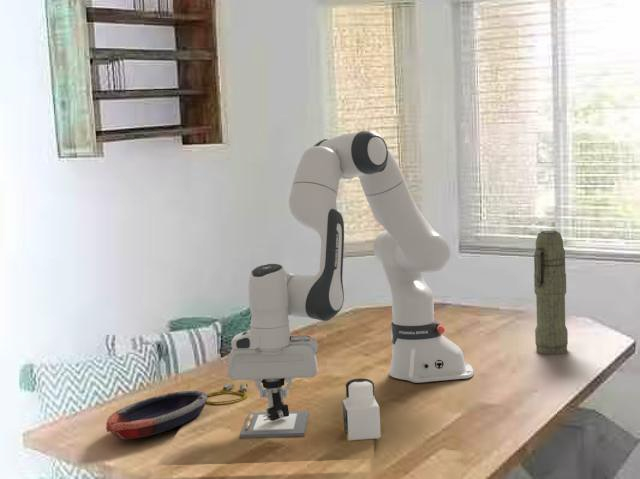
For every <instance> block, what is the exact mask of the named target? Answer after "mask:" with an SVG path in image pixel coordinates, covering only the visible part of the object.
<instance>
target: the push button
mask: <svg viewBox="0 0 640 479" xmlns="http://www.w3.org/2000/svg"><path fill="white" fill-rule="evenodd" d="M261 383H262V387H263V389H267V400H268V405H267V408H266V409H265V410H266V411H265V412H267V414H266V415H264V416H263V417H266V416H267V418H266V419H264V421H266V420H271V421H274V420H277V419H281V418H283V417H287V416H289V411H290V410H289V404H285V401H284V397H281V389H282V388H283V386H285V384H286V382H285V378H280V379H261Z"/></svg>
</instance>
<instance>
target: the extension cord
mask: <svg viewBox="0 0 640 479" xmlns="http://www.w3.org/2000/svg"><path fill="white" fill-rule="evenodd" d="M234 387H235V384H234V382H233V381H230V382H228V383H225V384H224V386H223V387H222V389H221V390H218V391H214V392H209V393H205V394H206V395H207V398H208V397H209V398H210V397H213V396H219V395H226V394H228V395H229V394H232V395H237V396H241V397H240V398H235V399H231V400H224V401H209V400H207V401H206V403H205V404H208V405H212V406H213V405H215V406H223V405H230V404H231V405H232V404H235V403H239V402H242V401H245V400H246V399H247V398H248V396H247V391H248V387H249V385H248V383H241V384H240V386H239V390H240V391H233V390H232V389H233V388H234Z"/></svg>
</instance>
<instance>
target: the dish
mask: <svg viewBox="0 0 640 479" xmlns="http://www.w3.org/2000/svg"><path fill="white" fill-rule="evenodd" d="M206 394H207V393H205V392H204V391H201V390H183V391H177V392H176V391H175V392H169V393H166V394H161V395H156V396H152V397H149V398H146V399H142V400H140V401H137V402H134V403H131V404H129V405H126V406H125V407H122V408H120V409H118V410H116V411H115V412H113V413H112V414H111V415H110V416H109V417H108V418H107V421H106V427H105V428H106V432H108V433H109V432H110V433H111V434H112V435H113V436H115V437H116V438H119V439H120V440H121V439H123V440H134V439H139V438H143V437H144V438H145V437H149V436H153V435H158V434H162V433H163V432H167V431H170V430H172V429H175V428H177V427H179V426H181V425H183V424H186V423H188V422H190V421H191V420H192V419H194V418H196V417H197V416H198V415H199V414H201V413H202V411H203V409H204V408H205V407H206V404H207V403H206V401H208V397H207V395H206Z"/></svg>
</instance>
